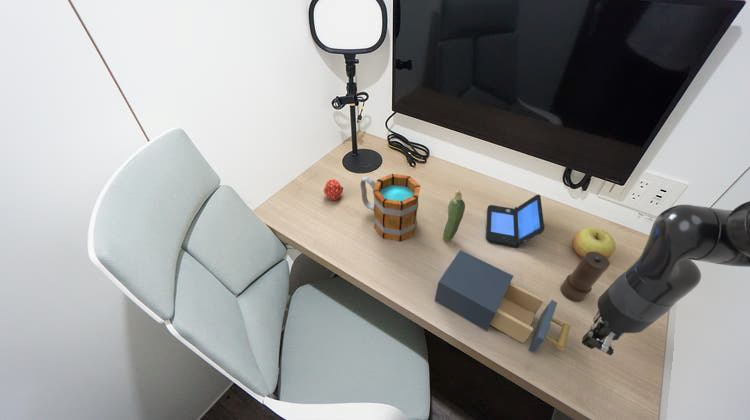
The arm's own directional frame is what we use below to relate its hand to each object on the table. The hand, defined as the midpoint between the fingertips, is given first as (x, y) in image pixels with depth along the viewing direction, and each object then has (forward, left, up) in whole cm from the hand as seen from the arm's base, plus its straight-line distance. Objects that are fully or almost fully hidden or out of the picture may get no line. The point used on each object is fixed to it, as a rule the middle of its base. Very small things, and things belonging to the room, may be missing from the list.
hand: (587, 343), depth 64 cm
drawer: (+10, +6, -6) cm, 13 cm away
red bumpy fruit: (+73, +29, -7) cm, 79 cm away
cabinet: (+21, +12, -7) cm, 25 cm away
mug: (+54, +18, -7) cm, 58 cm away
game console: (+35, -14, -7) cm, 39 cm away
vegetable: (+39, +5, -7) cm, 40 cm away
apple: (+18, -27, -7) cm, 33 cm away
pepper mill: (+11, -13, -7) cm, 18 cm away
